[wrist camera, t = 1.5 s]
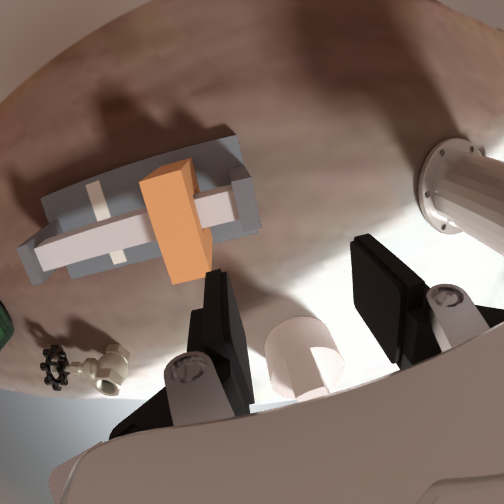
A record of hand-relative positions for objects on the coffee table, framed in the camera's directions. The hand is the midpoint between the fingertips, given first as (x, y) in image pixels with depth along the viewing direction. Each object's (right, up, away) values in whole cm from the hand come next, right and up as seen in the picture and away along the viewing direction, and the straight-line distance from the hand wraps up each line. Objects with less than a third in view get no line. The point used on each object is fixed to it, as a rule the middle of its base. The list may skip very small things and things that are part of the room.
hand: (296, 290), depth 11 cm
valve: (-24, -13, +27) cm, 38 cm away
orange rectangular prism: (-8, +6, +17) cm, 20 cm away
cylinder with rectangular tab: (+4, -11, +29) cm, 31 cm away
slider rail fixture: (-13, +6, +19) cm, 24 cm away
